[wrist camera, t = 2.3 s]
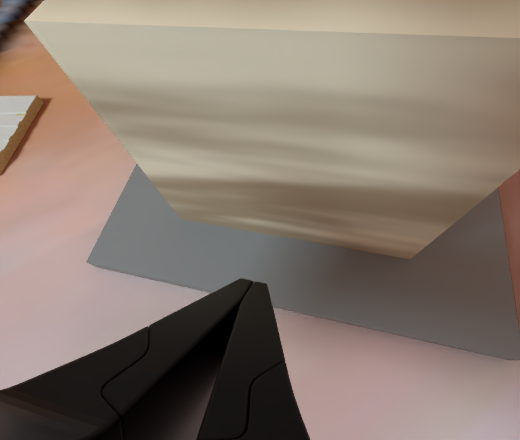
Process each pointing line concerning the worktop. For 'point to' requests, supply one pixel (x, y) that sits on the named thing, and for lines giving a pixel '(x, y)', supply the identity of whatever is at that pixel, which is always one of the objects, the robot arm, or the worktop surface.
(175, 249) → the grey flat slab
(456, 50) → the plank
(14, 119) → the baseboard
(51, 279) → the worktop surface
